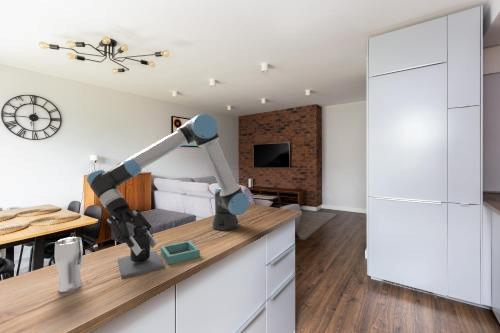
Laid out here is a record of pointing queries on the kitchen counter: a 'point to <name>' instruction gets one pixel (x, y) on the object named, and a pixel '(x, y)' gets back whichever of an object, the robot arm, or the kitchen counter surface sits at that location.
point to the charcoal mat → (139, 265)
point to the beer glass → (69, 263)
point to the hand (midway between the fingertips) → (147, 249)
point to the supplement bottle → (141, 244)
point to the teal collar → (179, 257)
